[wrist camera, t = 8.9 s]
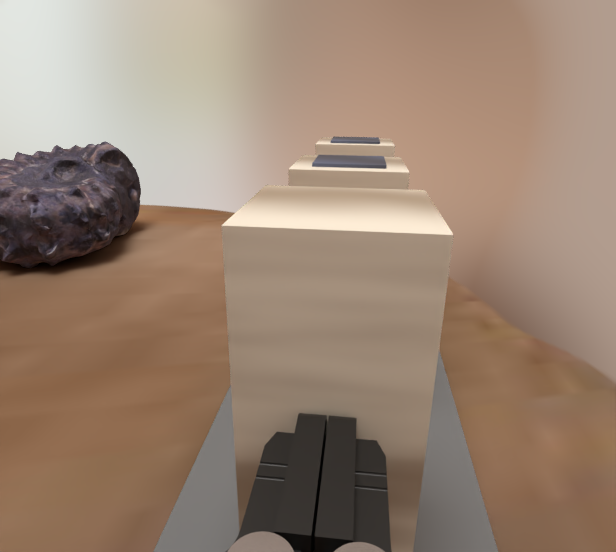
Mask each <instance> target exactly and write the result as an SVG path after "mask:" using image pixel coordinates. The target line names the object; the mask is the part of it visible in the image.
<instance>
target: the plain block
mask: <svg viewBox="0 0 616 552" xmlns="http://www.w3.org/2000/svg"><path fill="white" fill-rule="evenodd" d="M222 240H223V258H224V275H225V292H226V309H227V326H228V343H229V360H230V377H231V395H232V412H233V429H234V446H235V463H236V480H237V497H238V514H239V531H240V529H241V525H242V522H243V519H244V515H245V512H246V508H247V505H248V501H249V498H250V494H251V491H252V487H253V484H254V481H255V479H256V474H257V470H258V467H259V465H260V460H261V456H262V453H263V449H264V446H265V444H266V443H267V442H268V441H269V440H270V439H271V438H272V437H273V435H274V434H275V433H276V432H287V433H294V432H295V428H296V423H297V418H298V414H299V413H306V414H318V415H327V426H328V418H329V416H341V417H353V418H357V423H356V439H365V440H377V442H378V444H379V445H380V447H381V449H382V451H383V452H384V454H385V456H386V468H387V486H388V504H389V522H390V539H391V551H392V552H413V548H414V540H415V532H416V524H417V516H418V509H419V501H420V493H421V485H422V477H423V470H424V462H425V454H426V446H427V438H428V431H429V423H430V415H431V407H432V399H433V392H434V384H435V376H436V368H437V361H438V353H439V345H440V337H441V329H442V322H443V314H444V306H445V298H446V290H447V283H448V275H449V267H450V259H451V251H452V244H453V233H452V232H451V230H450V229H449V227H448V225H447V224H446V222H445V221H444V219H443V218H442V216H441V215H440V213H439V211H438V210H437V208H436V207H435V205H434V204H433V202H432V200H431V199H430V197H429V196H428V194H427V193H426V191H425V190H402V189H370V188H338V187H306V186H273V185H266V186H265V187H264V188H263V189H261V190H260V191H259V192H258V193H257V194H256V195H255V196H254V197H253V198H252V199H251V200H249V201H248V202H247V203H246V204H245V205H244V206H243V207H242V208H240V209H239V210H238V211H237V212H236V213H235V214H234V215H233V216H232V217H231V218H229V219H228V220H227V221H226V222H225V223H224V224H223V225H222ZM326 435H327V429H326Z"/></svg>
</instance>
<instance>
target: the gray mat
mask: <svg viewBox="0 0 616 552" xmlns="http://www.w3.org/2000/svg"><path fill="white" fill-rule="evenodd" d="M239 532H240V531H239V514H238V497H237V480H236V463H235V446H234V429H233V412H232V395H231V385H230V388H229V390H228V392H227V394H226V396H225V398H224V401H223V403H222V405H221V407H220V409H219V411H218V413H217V416H216V418H215V420H214V422H213V424H212V426H211V429H210V431H209V433H208V435H207V437H206V439H205V441H204V444H203V446H202V448H201V450H200V452H199V454H198V457H197V459H196V461H195V463H194V465H193V467H192V469H191V472H190V474H189V476H188V478H187V480H186V482H185V485H184V487H183V489H182V491H181V493H180V495H179V498H178V500H177V502H176V504H175V506H174V508H173V510H172V513H171V515H170V517H169V519H168V521H167V523H166V526H165V528H164V530H163V532H162V534H161V536H160V538H159V541H158V543H157V545H156V547H155V549H154V551H153V552H226V551H227V550H228V549H229V548H230V547H231V546H232V544H233V543H234V542H235V540H236V538H237V537H238V534H239ZM413 552H498V550H497V546H496V543H495V539H494V536H493V532H492V529H491V526H490V522H489V519H488V515H487V512H486V508H485V505H484V502H483V498H482V495H481V491H480V488H479V485H478V481H477V478H476V474H475V471H474V467H473V464H472V461H471V457H470V454H469V450H468V447H467V443H466V440H465V437H464V433H463V430H462V426H461V423H460V420H459V416H458V413H457V409H456V406H455V402H454V399H453V396H452V392H451V389H450V385H449V382H448V378H447V375H446V372H445V368H444V365H443V361H442V358H441V355H440V351H439V353H438V361H437V368H436V376H435V384H434V392H433V399H432V407H431V415H430V423H429V431H428V438H427V446H426V454H425V462H424V470H423V477H422V485H421V493H420V501H419V509H418V516H417V524H416V532H415V540H414V548H413Z"/></svg>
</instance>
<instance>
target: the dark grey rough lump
mask: <svg viewBox="0 0 616 552" xmlns="http://www.w3.org/2000/svg"><path fill="white" fill-rule="evenodd" d="M140 194H141V188H140V182H139V177H138V175H137V172H136V169H135V168H134V167H133V165H132V163H131V162H130V161H129V159H128V157H127V156H126V155H125V154H124V153H123V152H121V151H120V150H119V149H118V148H116V147H114V146H113V145H111V144H109V143H108V142H102V143H101V144H97V145H96V146H95V145H93V144H89V145H87V146H86V147H85V148H81V147H78V146H76V145H75V146H74V147H72V148H71V149H63V148H61V147H59V146H57V145H56V146H55V147H54V148H53V150H52V152H42V151H37V152H36V153H35V154H34V155H32V156H31V155H26V154H22V153H19V152H17V153H16V155H15V158H14V161H13V160H7V159H1V160H0V260H3V261H5V262H11V263H18V264H20V265H21V266H23V267H25V268H32V267H34V266H37V265H38V264H39V263H40V262H46V263H48V264H50V265H52V266H53V265H55V264H57V263H59V262H61V261H63V260H66V259H68V258H71V257H78V256H83V255H85V254H88V253H90V252H93V251H96V250H98V249H101V248H103V247H105V246H107V245H109V244H110V243H111V241H112V239H113V238H114V237H115V236H119V235H123V234H125V233H127V232H128V231H129V229H130V228H131V226H132V224H133V222H134V221H135V220H136V218H137V216H138V213H139V206H140Z"/></svg>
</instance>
